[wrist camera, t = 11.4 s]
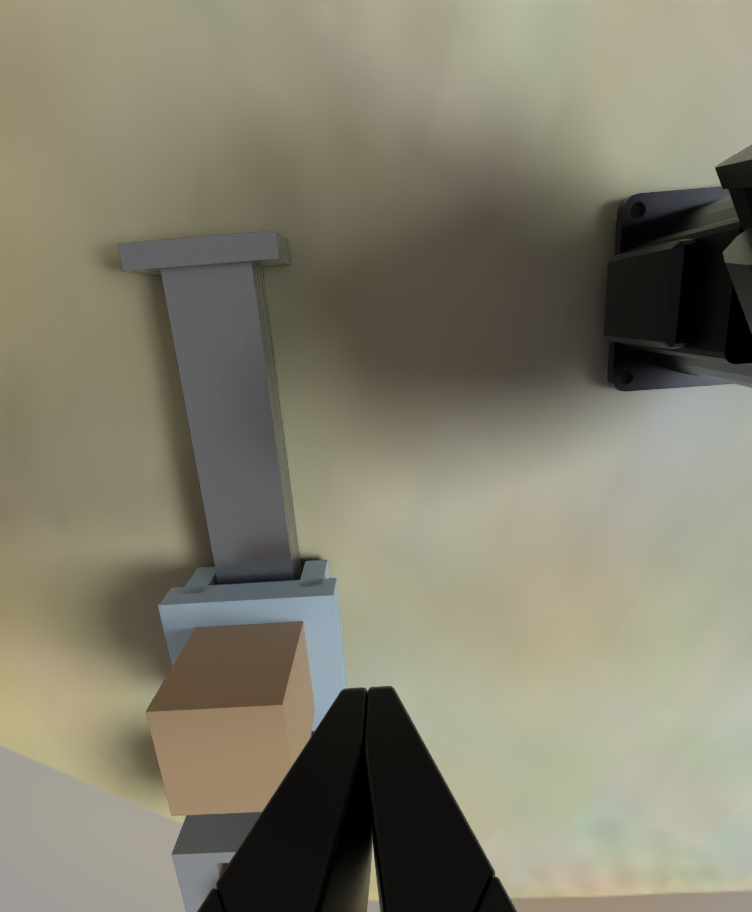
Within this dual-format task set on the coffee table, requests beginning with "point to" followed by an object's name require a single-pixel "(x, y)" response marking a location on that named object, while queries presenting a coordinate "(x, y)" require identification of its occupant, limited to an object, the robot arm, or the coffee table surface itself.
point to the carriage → (243, 686)
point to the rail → (230, 394)
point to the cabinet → (207, 851)
